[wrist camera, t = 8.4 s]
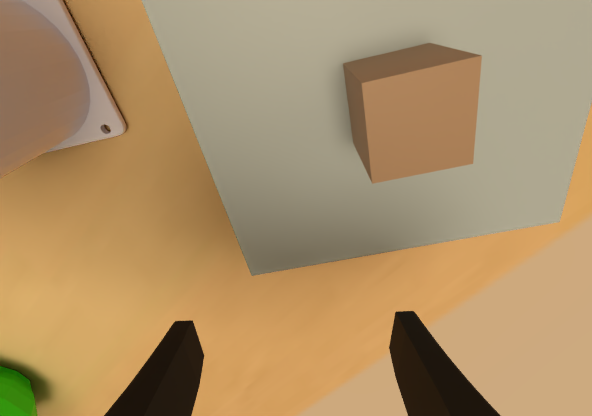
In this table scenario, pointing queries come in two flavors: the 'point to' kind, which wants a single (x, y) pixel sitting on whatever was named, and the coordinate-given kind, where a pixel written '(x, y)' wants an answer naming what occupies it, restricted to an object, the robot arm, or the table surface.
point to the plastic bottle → (15, 394)
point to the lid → (380, 117)
